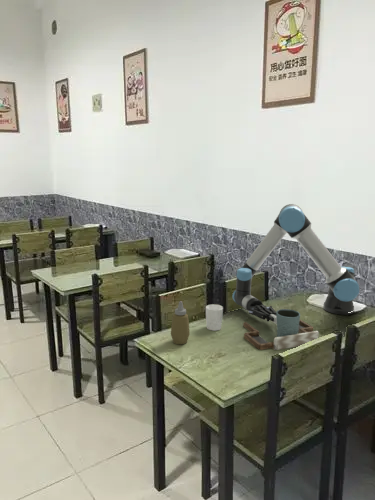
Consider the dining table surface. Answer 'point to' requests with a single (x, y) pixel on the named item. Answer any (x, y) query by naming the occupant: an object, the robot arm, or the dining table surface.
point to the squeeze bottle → (180, 325)
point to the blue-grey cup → (287, 322)
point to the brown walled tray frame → (283, 341)
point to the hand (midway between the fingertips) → (279, 322)
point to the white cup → (214, 317)
